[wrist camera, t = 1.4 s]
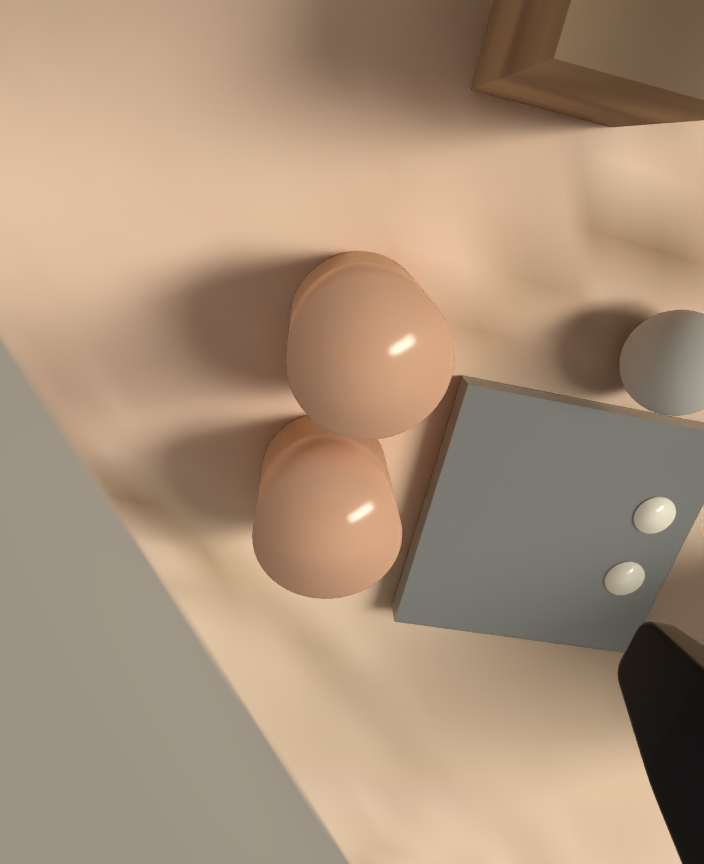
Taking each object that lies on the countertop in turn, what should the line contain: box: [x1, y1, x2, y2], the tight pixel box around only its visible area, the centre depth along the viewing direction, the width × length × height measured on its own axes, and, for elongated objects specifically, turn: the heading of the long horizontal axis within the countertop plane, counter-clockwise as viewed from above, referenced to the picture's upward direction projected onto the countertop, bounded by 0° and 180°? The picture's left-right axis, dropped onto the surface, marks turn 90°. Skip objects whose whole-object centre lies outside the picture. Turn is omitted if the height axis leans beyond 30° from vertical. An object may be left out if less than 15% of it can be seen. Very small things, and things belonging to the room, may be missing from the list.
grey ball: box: [619, 310, 704, 416], centre depth 18 cm, size 3×3×3 cm
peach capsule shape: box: [252, 415, 402, 599], centre depth 19 cm, size 4×4×4 cm
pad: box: [392, 376, 704, 653], centre depth 21 cm, size 9×9×1 cm
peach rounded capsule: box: [286, 251, 455, 440], centre depth 17 cm, size 4×4×4 cm
